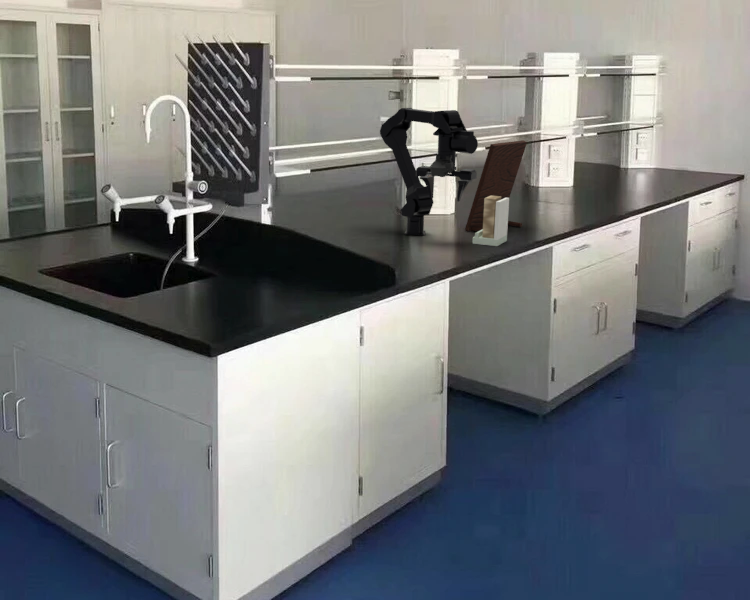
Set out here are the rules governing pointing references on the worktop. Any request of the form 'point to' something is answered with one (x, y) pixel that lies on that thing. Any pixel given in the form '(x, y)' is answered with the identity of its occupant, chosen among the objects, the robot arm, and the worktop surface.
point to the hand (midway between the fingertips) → (444, 200)
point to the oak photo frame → (489, 216)
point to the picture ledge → (496, 226)
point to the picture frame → (496, 179)
